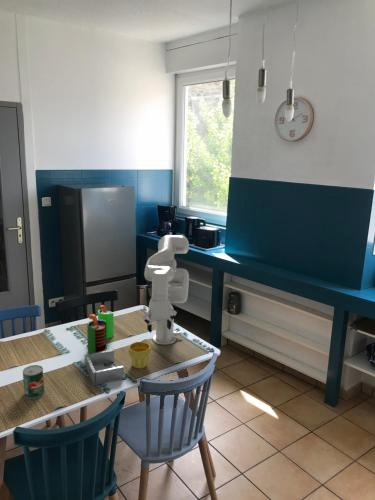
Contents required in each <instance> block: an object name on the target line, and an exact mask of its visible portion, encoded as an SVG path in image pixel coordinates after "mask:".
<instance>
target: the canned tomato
mask: <svg viewBox="0 0 375 500" xmlns="http://www.w3.org/2000/svg"><path fill="white" fill-rule="evenodd" d="M22 379H23V391H24V394H23V395H24V397H25V398H27V399H29V400H31V399H32V400H33V399H35V400H36V399H38V398H40V397H42V396H44V394H45V381H44V379H45V378H44V368H43V366H42V365H38V364H33V365H29V366H26V367H25V368H23V370H22Z"/></svg>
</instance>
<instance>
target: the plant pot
mask: <svg viewBox="0 0 375 500" xmlns="http://www.w3.org/2000/svg"><path fill="white" fill-rule="evenodd" d="M151 349H152V347H151V345H150V344H149V343H148V342H145V341H135V342H132V343H131V344H129V346H128V355H129V356H130V359H131V363H132V367H133V368H136V369H144V368H145V367H146V366H147V363H148V360H149V357H150V355H151Z"/></svg>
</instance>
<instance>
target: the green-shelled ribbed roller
mask: <svg viewBox="0 0 375 500" xmlns="http://www.w3.org/2000/svg"><path fill="white" fill-rule="evenodd" d="M97 320H105V321H107V339H111V338H113V337H114V333H115V331H114V329H115V328H114V325H115V324H114V312H112V311H110V310H107V307H106V306H105V305H104V304H102V305H100V306H99V309H98V310H97Z"/></svg>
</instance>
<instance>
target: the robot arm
mask: <svg viewBox="0 0 375 500" xmlns="http://www.w3.org/2000/svg"><path fill="white" fill-rule="evenodd" d="M189 243H190V242H189V240H188V238H187V236H185V235H177V234H174V235H173V234H166V235H164V236H162V237H161V238H160V240H159V241H158V243H157V249H158V251H157V252H156V253H154V254H153V255H151V256H150V257H149V258H148V259H147V261H146V264H145V268H144V272H143V273H144V279H145V280H146V281H148V282H151V298H150V300H149V304H148V310H147V312H146V313H144V314H142V316H141V317H142V319H143V321H144V322H145V324H147V325H146V326H147V327H146V328H147V332H149V333H150V334H151V333H152V329H153V325H152V323H153V322H155V334H154V335H153V336H152V341H153V342H154V344H158V345H162V346H163V345H165V346H167V345H172V344H173V343H174V344H175V342H176V341H177V336H181V335H183V333H182V331H181V330H180V331H178V329H175V330H174V324H175V323H174V321H175V318H176V315H177V313H178V311H176V310H174V307H173V305H172V303H174V304H184V303H186V301H188V294H189V281H190V274H189V271H188V270H187V269H185V268H181V267H180V268H177V260H176V259H175V254H181V255H182V254H187V253H188V252H189V250H190V249H189V248H190V244H189Z"/></svg>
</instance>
